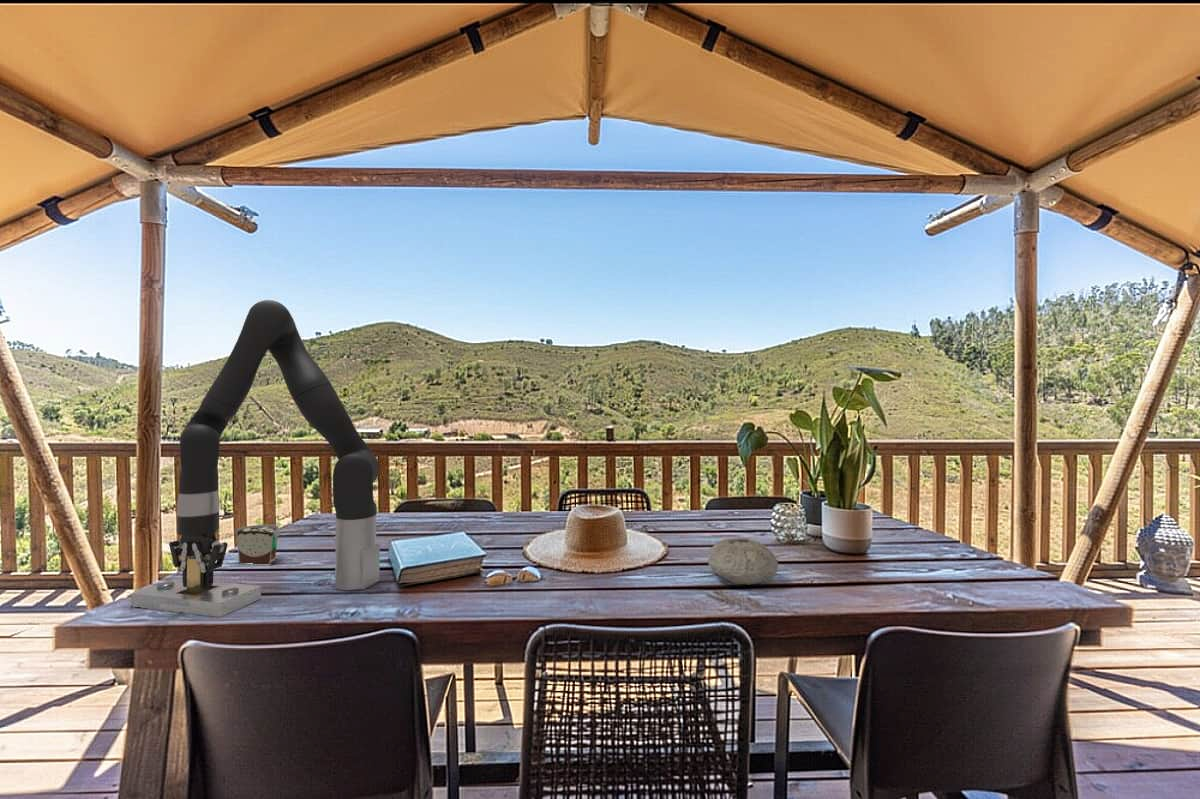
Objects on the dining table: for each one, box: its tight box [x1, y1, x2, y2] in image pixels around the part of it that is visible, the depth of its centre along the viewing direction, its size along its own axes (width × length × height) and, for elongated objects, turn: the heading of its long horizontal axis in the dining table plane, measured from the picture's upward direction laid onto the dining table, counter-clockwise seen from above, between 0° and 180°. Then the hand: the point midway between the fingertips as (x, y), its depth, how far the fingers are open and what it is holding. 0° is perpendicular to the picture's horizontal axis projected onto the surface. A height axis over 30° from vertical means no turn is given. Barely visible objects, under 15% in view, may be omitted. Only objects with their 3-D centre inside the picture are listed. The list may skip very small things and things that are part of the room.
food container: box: [234, 524, 282, 566], centre depth 142 cm, size 12×6×10 cm, turn 84°
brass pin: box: [187, 554, 209, 595], centre depth 113 cm, size 4×4×9 cm
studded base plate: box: [130, 577, 262, 618], centre depth 113 cm, size 24×10×4 cm, turn 79°
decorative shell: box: [707, 537, 779, 586], centre depth 131 cm, size 18×18×10 cm
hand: (197, 586), depth 113 cm, fingers open, 4 cm apart
